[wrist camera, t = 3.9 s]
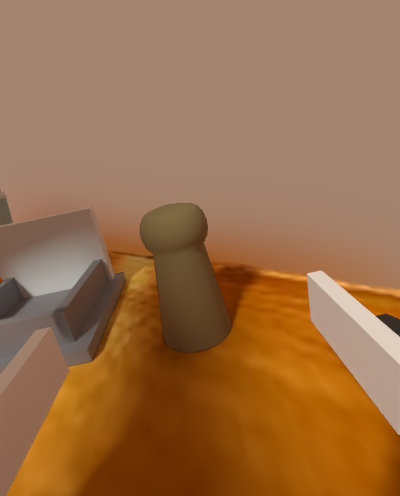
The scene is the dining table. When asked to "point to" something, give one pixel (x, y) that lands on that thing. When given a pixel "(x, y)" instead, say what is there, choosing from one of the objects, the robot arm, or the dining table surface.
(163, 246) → the cork
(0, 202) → the disposable coffee cup
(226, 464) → the dining table surface
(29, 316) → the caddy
